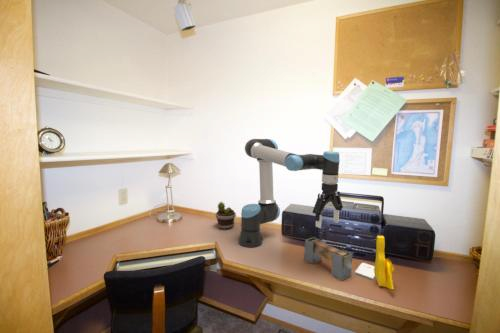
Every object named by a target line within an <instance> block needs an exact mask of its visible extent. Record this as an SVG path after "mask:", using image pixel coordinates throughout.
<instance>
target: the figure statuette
mask: <svg viewBox="0 0 500 333" xmlns="http://www.w3.org/2000/svg"><path fill="white" fill-rule="evenodd" d="M375 242H376V248H375V249H376V252H375V262H374V266H375V267H374V274H375V280H376V282H377V284H378V286H379V287H384V288H387V289H389V290H395V287H394V282H393V281H394V280H393V273H394V271H395V267H394V264H393V263H392V261H391V260H390V258H389V257H388V258H386V255H385V254H386V253H385V248H386V244H385V243H386V240H385V236H384V235H377V236H376V241H375Z"/></svg>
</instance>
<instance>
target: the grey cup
mask: <svg viewBox="0 0 500 333" xmlns="http://www.w3.org/2000/svg"><path fill="white" fill-rule="evenodd" d="M341 251H343V252H345V253H347V255H346V256H344V257H342V256H340V255H338V254H336V253H333V261H332V265H331V269H332V270H331V276H333V277H335V278H337V280H340V281H345V280H347V279H348V278H350V277H352V271H353V269H352V268H353V254H354V253H351V252H349V251H347V250H344V249H341Z"/></svg>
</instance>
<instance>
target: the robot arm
mask: <svg viewBox="0 0 500 333" xmlns="http://www.w3.org/2000/svg"><path fill="white" fill-rule="evenodd" d="M244 151H245V153H246V155H247V156H248V157H250V158H253V159H256V161H257V162H258V164H259V165H258V167H259V168H258V170H259V172H258V174H259V195H260V196H259V197H260V199H259V200H258V202H257V203H248V204H245V205H244V206H243V207H242V208H241V214H240V215H241V218H240V219H241V220H240V222H241V225H240V226H241V228H240V229H241V230H240V233H239V235H238V240H237V241H238V244H239V245H240V246H242V247H244V248H257V247H259V246H262V244H263V240H264V239H263V236H262V234H261V225H263V224H267V223H272V222H274V221H277V220H278V218H279V217H280V215H281V214H280V213H281V209H280V206H279V204H278V203H277V202H276V200H275V199H274V175H273V174H274V173H273V172H274V171H273V164H276V165H280V166H281V167H282V166H283V167H285V168H286V169H287V170H288V171H291V172H298V171H304V170H305V171H306V170H320V171H322V175H321V190H322V193H318V194H317V198H316V202H315V204H314V207H313V210H312V214H315V227H316V228H319V229H322V219H323V218H322V212H323V211H324V209H325V206H326V205H327V204H328V203H330V202H331V204H332V205H333V207H334V209H333V218H332V219H333V220H332V221H333V223H336V224H338V223H340V222H339V221H340V212H341V211H342V210H343V207H344V206H343V203H342V199H341V192H340V191H338V187H339V186H338V183H339V169H340V161H341V160H340V153H339V152H338V151H331V150H330V151H327V150H326V151H323V154H314V153H306V154H297V153H293V152H290V151H285V150H283V149H282V150H281V149H279V148H278V143H277V142H276V141H275V140H274V139H269V138H251V139H250V140H248V141H247V142H246V143H245V145H244Z"/></svg>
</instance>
